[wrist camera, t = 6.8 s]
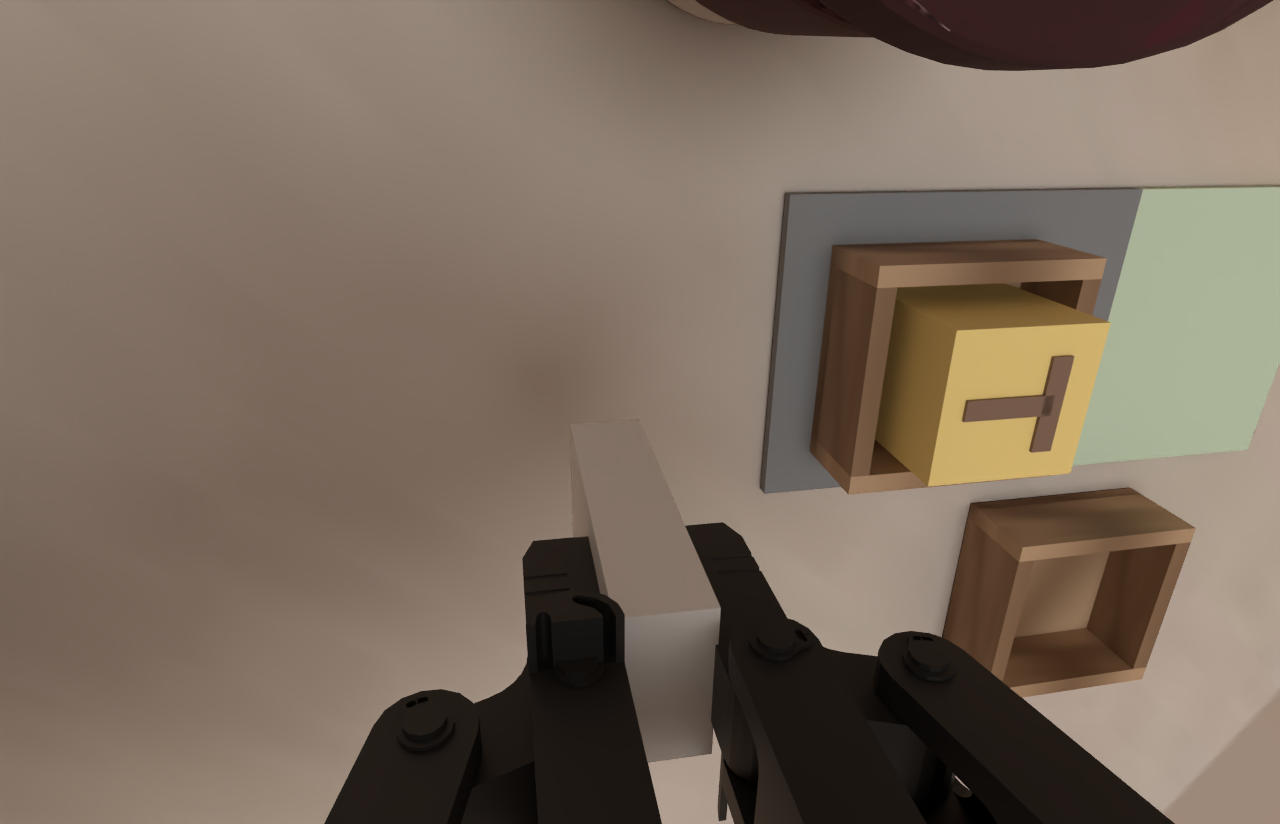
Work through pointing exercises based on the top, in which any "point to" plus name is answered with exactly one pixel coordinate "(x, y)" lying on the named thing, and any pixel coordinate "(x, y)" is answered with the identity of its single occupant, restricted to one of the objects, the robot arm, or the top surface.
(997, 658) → the box
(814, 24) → the coffee cup
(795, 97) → the top surface
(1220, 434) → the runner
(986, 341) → the letter cube
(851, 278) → the box
